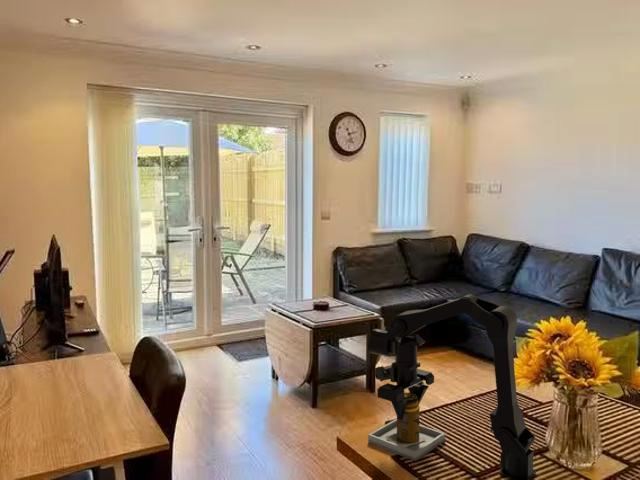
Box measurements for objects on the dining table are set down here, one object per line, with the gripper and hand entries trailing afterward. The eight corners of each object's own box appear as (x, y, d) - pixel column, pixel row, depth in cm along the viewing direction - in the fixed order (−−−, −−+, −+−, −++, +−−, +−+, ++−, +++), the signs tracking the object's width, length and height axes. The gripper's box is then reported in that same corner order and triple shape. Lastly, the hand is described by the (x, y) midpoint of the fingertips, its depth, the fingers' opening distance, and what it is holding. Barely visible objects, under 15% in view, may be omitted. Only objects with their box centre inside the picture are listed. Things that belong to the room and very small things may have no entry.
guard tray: (445, 441, 145) (445, 433, 145) (415, 461, 135) (415, 453, 135) (398, 424, 156) (398, 417, 155) (368, 442, 146) (368, 434, 145)
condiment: (426, 440, 144) (426, 397, 143) (402, 449, 139) (402, 405, 138) (407, 429, 150) (407, 388, 149) (384, 438, 145) (384, 395, 144)
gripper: (401, 345, 155) (402, 397, 157) (360, 361, 142) (361, 418, 143) (435, 353, 148) (435, 407, 149) (394, 370, 134) (395, 430, 136)
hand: (406, 415), depth 145 cm, fingers closed on condiment, 6 cm apart
